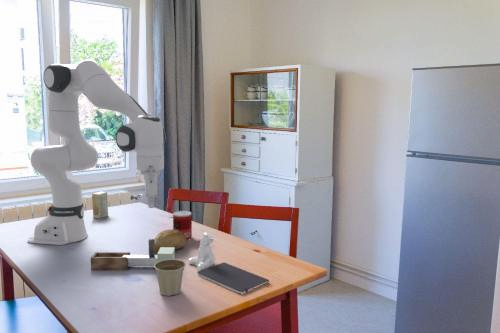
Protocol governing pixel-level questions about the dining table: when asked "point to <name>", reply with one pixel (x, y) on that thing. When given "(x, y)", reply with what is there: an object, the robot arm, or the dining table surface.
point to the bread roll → (170, 239)
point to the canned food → (183, 223)
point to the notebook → (232, 277)
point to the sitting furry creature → (204, 253)
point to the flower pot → (170, 276)
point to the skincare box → (100, 204)
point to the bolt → (143, 257)
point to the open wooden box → (109, 261)
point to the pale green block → (166, 253)
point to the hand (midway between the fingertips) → (150, 204)
